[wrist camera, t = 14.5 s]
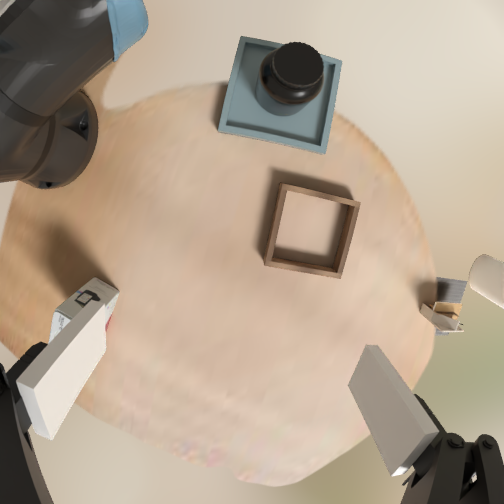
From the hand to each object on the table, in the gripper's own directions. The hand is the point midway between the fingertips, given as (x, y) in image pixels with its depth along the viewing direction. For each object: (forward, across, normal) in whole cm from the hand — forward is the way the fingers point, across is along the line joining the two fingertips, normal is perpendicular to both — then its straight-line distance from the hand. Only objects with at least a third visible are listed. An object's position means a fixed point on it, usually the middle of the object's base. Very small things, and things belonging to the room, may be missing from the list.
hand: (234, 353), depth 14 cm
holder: (+27, +10, +3) cm, 28 cm away
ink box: (+27, -19, -14) cm, 36 cm away
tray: (+27, +2, +20) cm, 33 cm away
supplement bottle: (+26, +2, +20) cm, 33 cm away
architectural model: (+27, +36, -6) cm, 45 cm away
